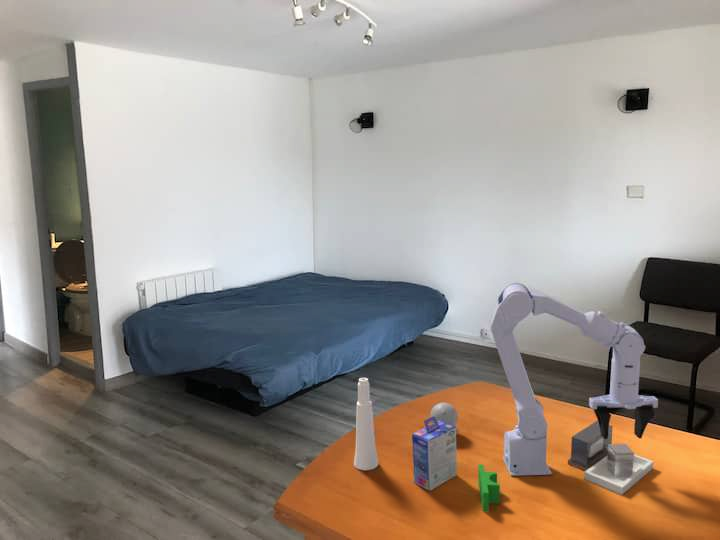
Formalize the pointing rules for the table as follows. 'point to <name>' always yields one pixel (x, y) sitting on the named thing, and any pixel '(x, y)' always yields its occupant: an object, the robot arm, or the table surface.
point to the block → (620, 460)
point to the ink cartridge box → (434, 454)
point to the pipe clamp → (488, 487)
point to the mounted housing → (589, 447)
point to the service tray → (618, 484)
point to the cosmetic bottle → (365, 430)
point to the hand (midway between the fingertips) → (621, 436)
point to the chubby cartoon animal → (445, 414)
